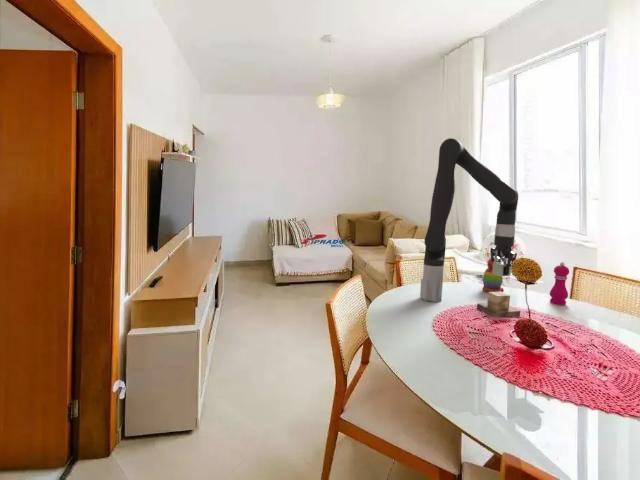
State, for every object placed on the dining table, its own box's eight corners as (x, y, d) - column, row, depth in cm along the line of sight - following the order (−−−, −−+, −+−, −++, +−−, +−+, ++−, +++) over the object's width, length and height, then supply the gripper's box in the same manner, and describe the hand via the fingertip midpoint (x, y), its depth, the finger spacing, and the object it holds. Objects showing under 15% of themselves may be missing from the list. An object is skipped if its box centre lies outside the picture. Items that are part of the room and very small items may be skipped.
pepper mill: (565, 302, 168) (570, 261, 165) (568, 306, 161) (573, 264, 158) (547, 300, 171) (552, 260, 168) (550, 304, 164) (554, 262, 161)
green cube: (499, 276, 148) (500, 264, 147) (492, 273, 153) (493, 262, 152) (510, 275, 149) (511, 264, 148) (502, 273, 153) (503, 262, 153)
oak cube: (496, 309, 149) (497, 296, 148) (487, 305, 155) (488, 292, 154) (508, 309, 150) (510, 295, 149) (499, 304, 156) (500, 291, 155)
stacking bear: (502, 295, 178) (505, 261, 176) (480, 291, 183) (483, 258, 181) (503, 290, 187) (506, 257, 185) (483, 287, 192) (485, 255, 190)
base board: (494, 316, 146) (494, 312, 146) (477, 307, 158) (477, 303, 157) (519, 315, 148) (520, 311, 148) (500, 306, 160) (501, 302, 159)
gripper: (486, 232, 155) (483, 270, 157) (508, 237, 141) (504, 278, 143) (501, 232, 156) (497, 269, 158) (524, 236, 142) (521, 277, 144)
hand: (501, 273), depth 150 cm, fingers closed on green cube, 5 cm apart
